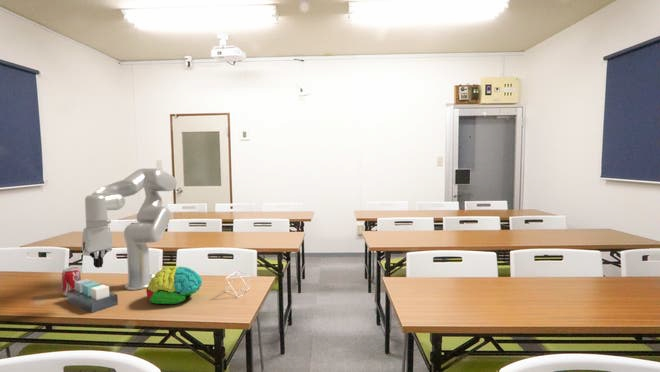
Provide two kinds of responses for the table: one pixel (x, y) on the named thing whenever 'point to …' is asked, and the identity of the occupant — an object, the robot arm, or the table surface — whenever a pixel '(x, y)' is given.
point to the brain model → (173, 285)
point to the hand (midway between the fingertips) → (98, 266)
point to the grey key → (79, 285)
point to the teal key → (87, 288)
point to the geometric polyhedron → (242, 279)
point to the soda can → (69, 279)
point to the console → (91, 301)
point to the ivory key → (99, 292)
